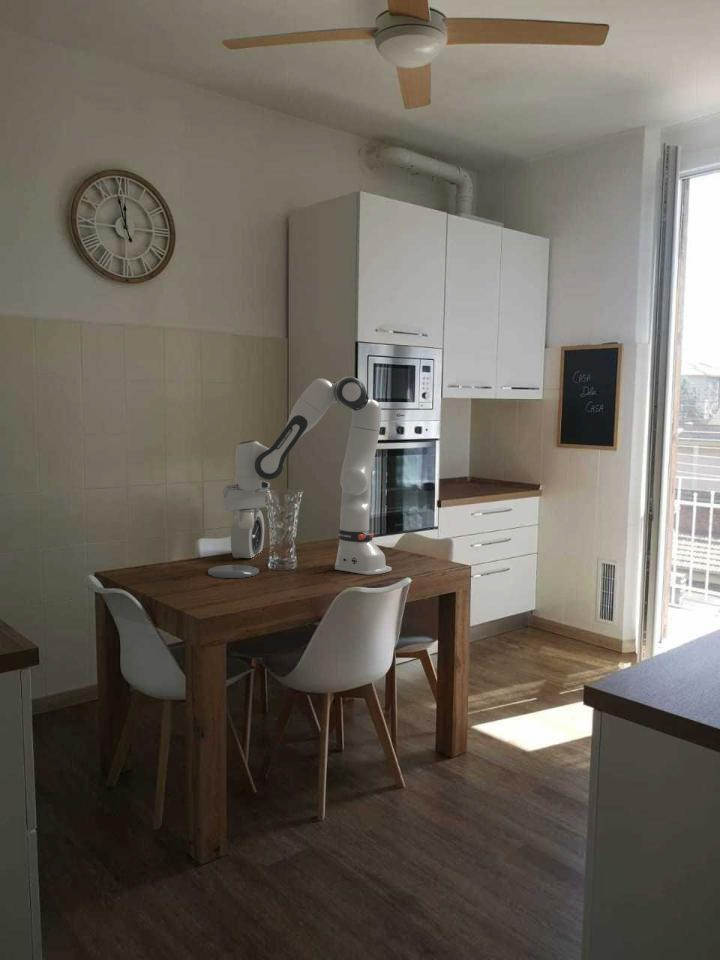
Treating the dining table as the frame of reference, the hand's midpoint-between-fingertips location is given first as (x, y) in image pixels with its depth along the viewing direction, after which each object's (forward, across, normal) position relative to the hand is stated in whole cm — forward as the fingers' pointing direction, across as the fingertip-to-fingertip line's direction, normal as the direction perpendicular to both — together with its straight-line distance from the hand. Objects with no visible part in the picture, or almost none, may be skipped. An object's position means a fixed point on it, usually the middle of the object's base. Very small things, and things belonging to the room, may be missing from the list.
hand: (246, 520), depth 287 cm
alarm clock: (+17, +12, +15) cm, 26 cm away
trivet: (+17, -11, -8) cm, 22 cm away
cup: (+3, 0, 0) cm, 3 cm away
